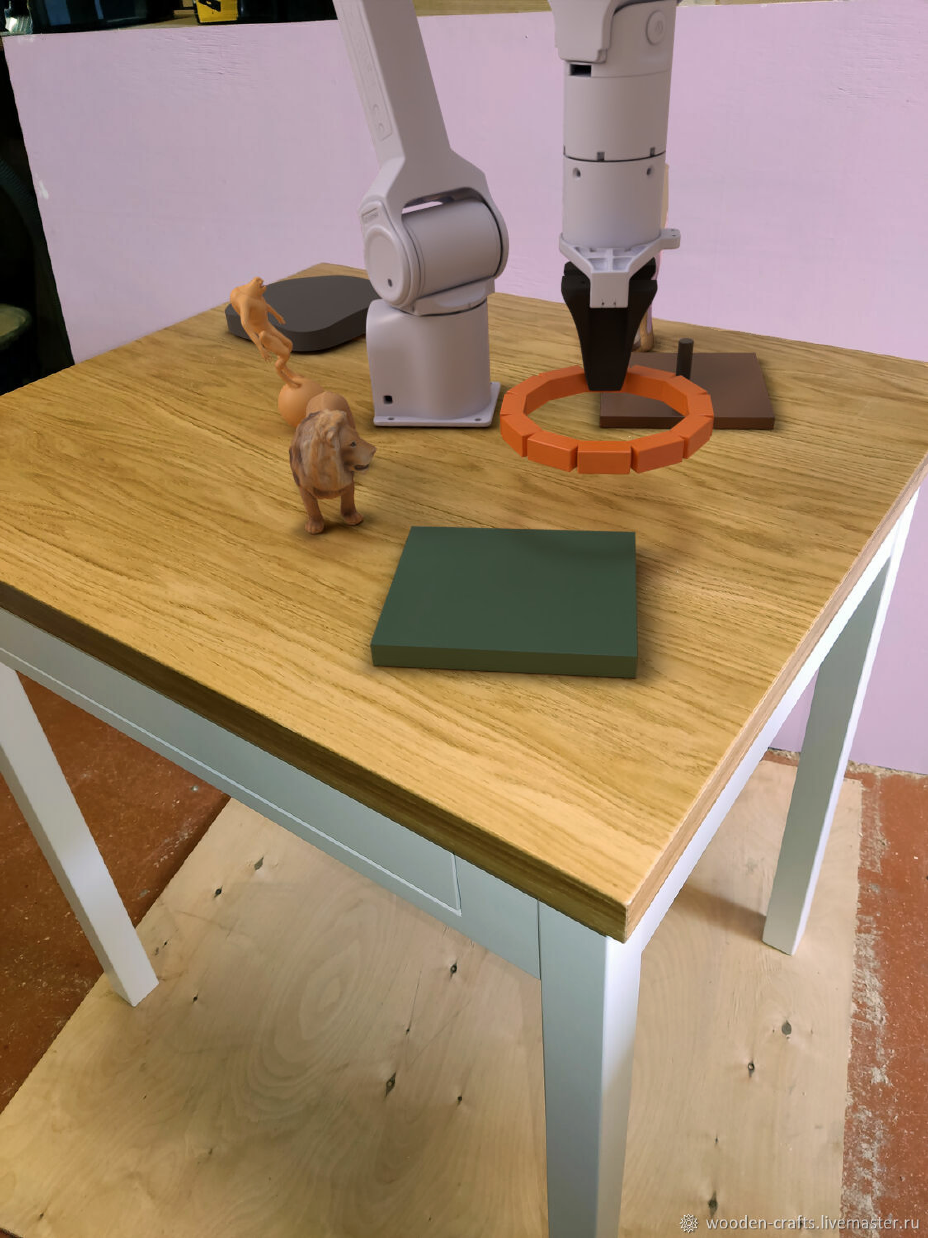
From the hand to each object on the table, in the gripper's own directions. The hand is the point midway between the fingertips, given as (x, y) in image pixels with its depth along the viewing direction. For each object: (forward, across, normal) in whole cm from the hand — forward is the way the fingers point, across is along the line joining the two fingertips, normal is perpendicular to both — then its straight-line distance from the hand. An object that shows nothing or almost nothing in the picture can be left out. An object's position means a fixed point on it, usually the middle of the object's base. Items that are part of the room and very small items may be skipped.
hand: (605, 382), depth 59 cm
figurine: (+8, +9, +25) cm, 27 cm away
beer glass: (+8, +26, -1) cm, 28 cm away
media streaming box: (+8, +33, +30) cm, 45 cm away
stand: (+7, -15, +5) cm, 17 cm away
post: (+7, +15, -6) cm, 18 cm away
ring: (0, -6, 0) cm, 6 cm away
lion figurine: (+8, -4, +18) cm, 20 cm away
